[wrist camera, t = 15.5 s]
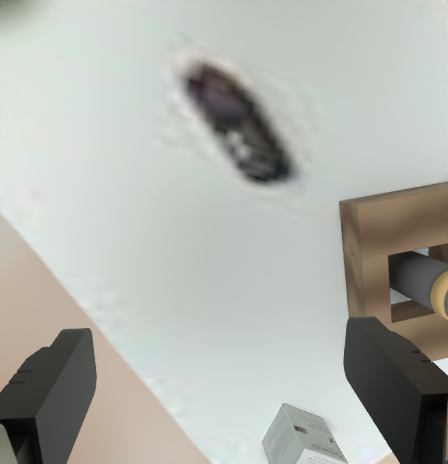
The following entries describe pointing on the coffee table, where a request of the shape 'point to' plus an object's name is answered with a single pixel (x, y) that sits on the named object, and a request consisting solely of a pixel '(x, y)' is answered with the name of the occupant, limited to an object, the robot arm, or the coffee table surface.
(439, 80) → the coffee table surface
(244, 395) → the coffee table surface
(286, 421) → the skincare box
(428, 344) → the wooden gallows stand
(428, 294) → the banded grey cylinder
